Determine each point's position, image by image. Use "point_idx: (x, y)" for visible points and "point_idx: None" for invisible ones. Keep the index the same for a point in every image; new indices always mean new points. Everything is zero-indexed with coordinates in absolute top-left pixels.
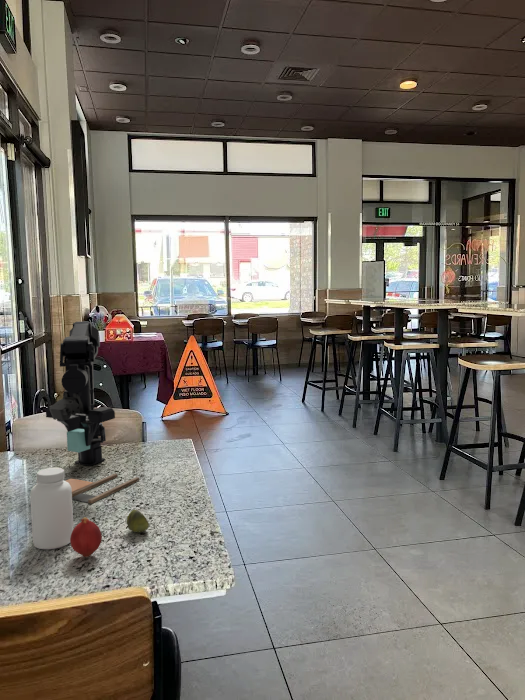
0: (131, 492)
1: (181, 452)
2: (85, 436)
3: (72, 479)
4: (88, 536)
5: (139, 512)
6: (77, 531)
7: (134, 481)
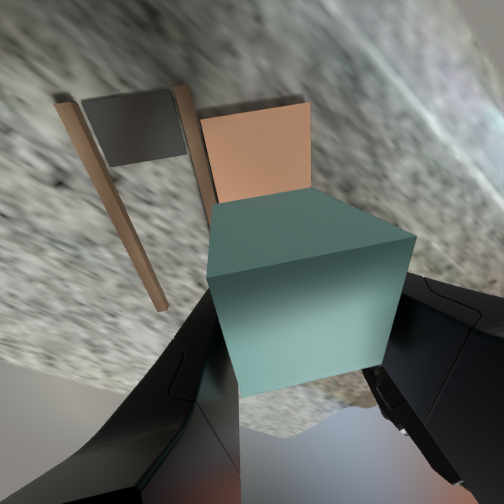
0: (83, 250)
1: (242, 415)
2: (210, 316)
3: None
4: None
5: None
6: None
7: (152, 295)
